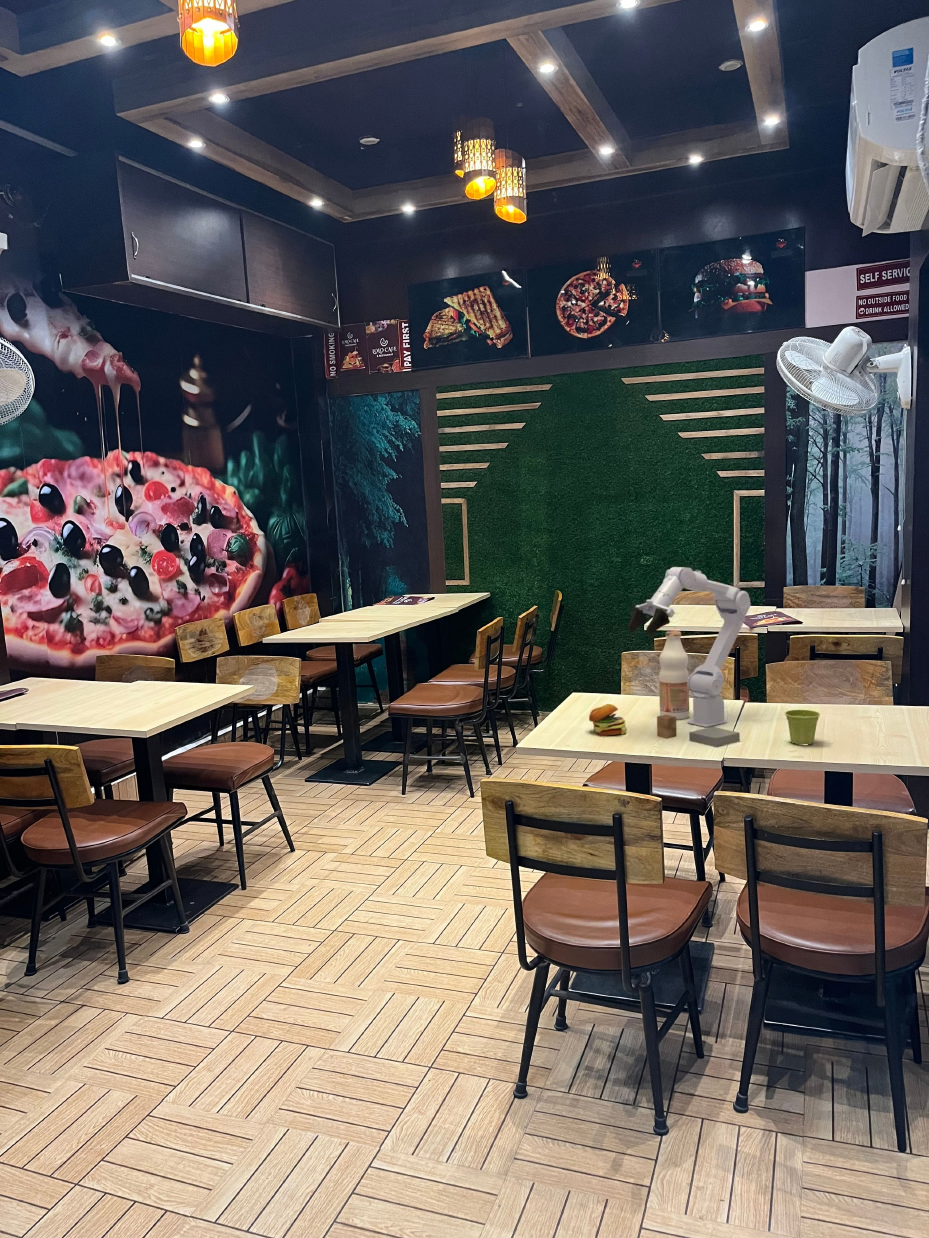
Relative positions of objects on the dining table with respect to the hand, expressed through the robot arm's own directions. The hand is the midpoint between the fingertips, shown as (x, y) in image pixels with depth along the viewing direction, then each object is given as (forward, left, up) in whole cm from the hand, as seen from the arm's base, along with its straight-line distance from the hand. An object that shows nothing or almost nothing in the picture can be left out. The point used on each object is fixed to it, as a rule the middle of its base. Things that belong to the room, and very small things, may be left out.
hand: (638, 631), depth 263 cm
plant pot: (-30, +34, -32) cm, 56 cm away
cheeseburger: (+2, -12, -33) cm, 35 cm away
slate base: (-14, +16, -33) cm, 39 cm away
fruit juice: (-28, -13, -32) cm, 45 cm away
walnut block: (-8, +3, -32) cm, 33 cm away
